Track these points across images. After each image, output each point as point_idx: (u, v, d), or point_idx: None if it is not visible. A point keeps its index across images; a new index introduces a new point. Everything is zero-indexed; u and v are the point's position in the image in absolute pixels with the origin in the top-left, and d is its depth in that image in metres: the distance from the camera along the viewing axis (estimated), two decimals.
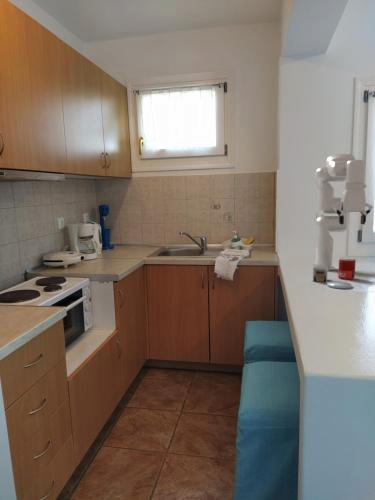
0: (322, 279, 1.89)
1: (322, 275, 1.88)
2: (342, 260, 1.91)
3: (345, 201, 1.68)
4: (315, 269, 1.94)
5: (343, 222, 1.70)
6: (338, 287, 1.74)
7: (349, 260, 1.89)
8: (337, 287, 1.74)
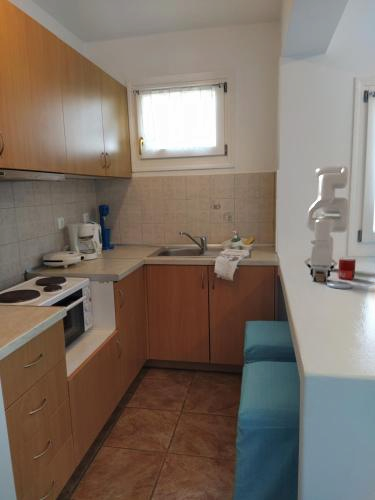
0: (322, 279, 1.89)
1: (322, 275, 1.88)
2: (342, 260, 1.91)
3: None
4: (315, 269, 1.94)
5: None
6: (338, 287, 1.74)
7: (349, 260, 1.89)
8: (337, 287, 1.74)
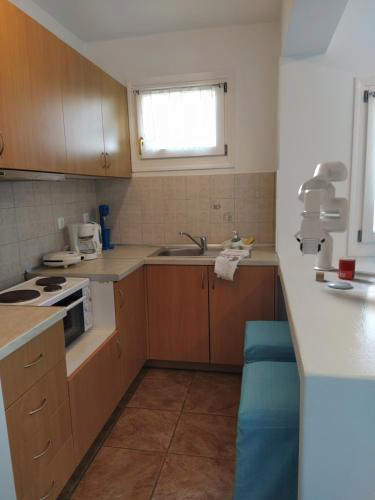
0: (322, 279, 1.89)
1: (322, 275, 1.88)
2: (342, 260, 1.91)
3: None
4: (305, 244, 1.82)
5: None
6: (338, 287, 1.74)
7: (349, 260, 1.89)
8: (337, 287, 1.74)
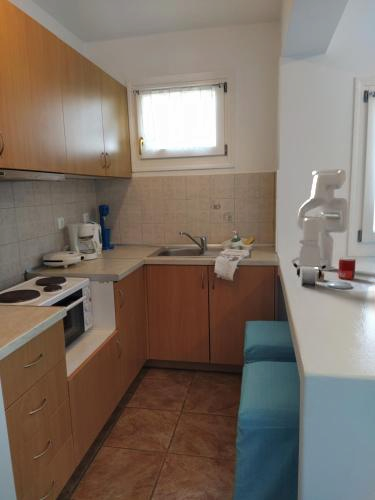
0: (322, 279, 1.89)
1: (322, 275, 1.88)
2: (342, 260, 1.91)
3: None
4: (304, 273, 1.85)
5: None
6: (338, 287, 1.74)
7: (349, 260, 1.89)
8: (337, 287, 1.74)
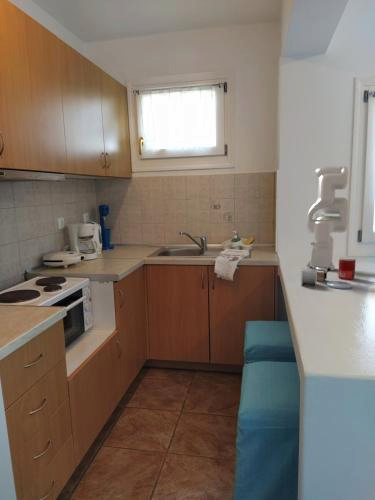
0: (322, 278, 1.88)
1: (322, 274, 1.88)
2: (342, 260, 1.91)
3: None
4: (304, 273, 1.85)
5: None
6: (338, 287, 1.74)
7: (349, 260, 1.89)
8: (337, 287, 1.74)
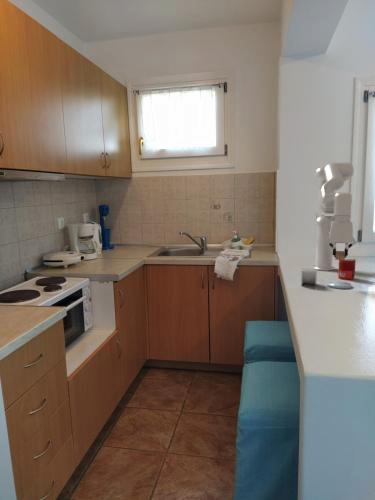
0: (343, 257, 1.74)
1: (343, 252, 1.74)
2: (342, 260, 1.91)
3: None
4: (304, 273, 1.85)
5: None
6: (338, 287, 1.74)
7: (349, 260, 1.89)
8: (337, 287, 1.74)
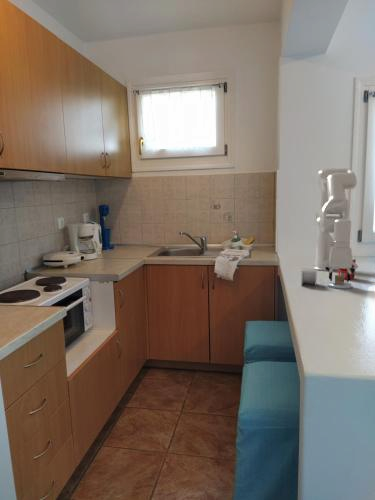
0: (342, 283, 1.75)
1: (342, 278, 1.75)
2: None
3: None
4: (304, 273, 1.85)
5: None
6: (338, 287, 1.74)
7: None
8: (337, 287, 1.74)
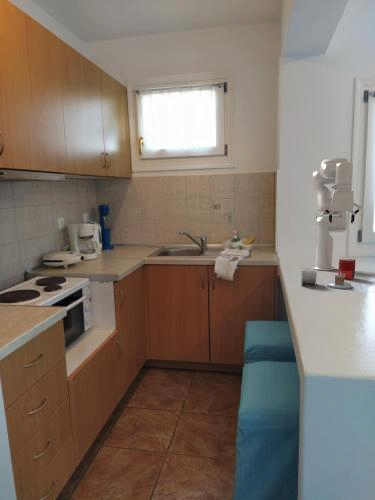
0: (342, 283, 1.75)
1: (342, 278, 1.75)
2: (342, 260, 1.91)
3: None
4: (304, 273, 1.85)
5: None
6: (338, 287, 1.74)
7: (349, 260, 1.89)
8: (337, 287, 1.74)
